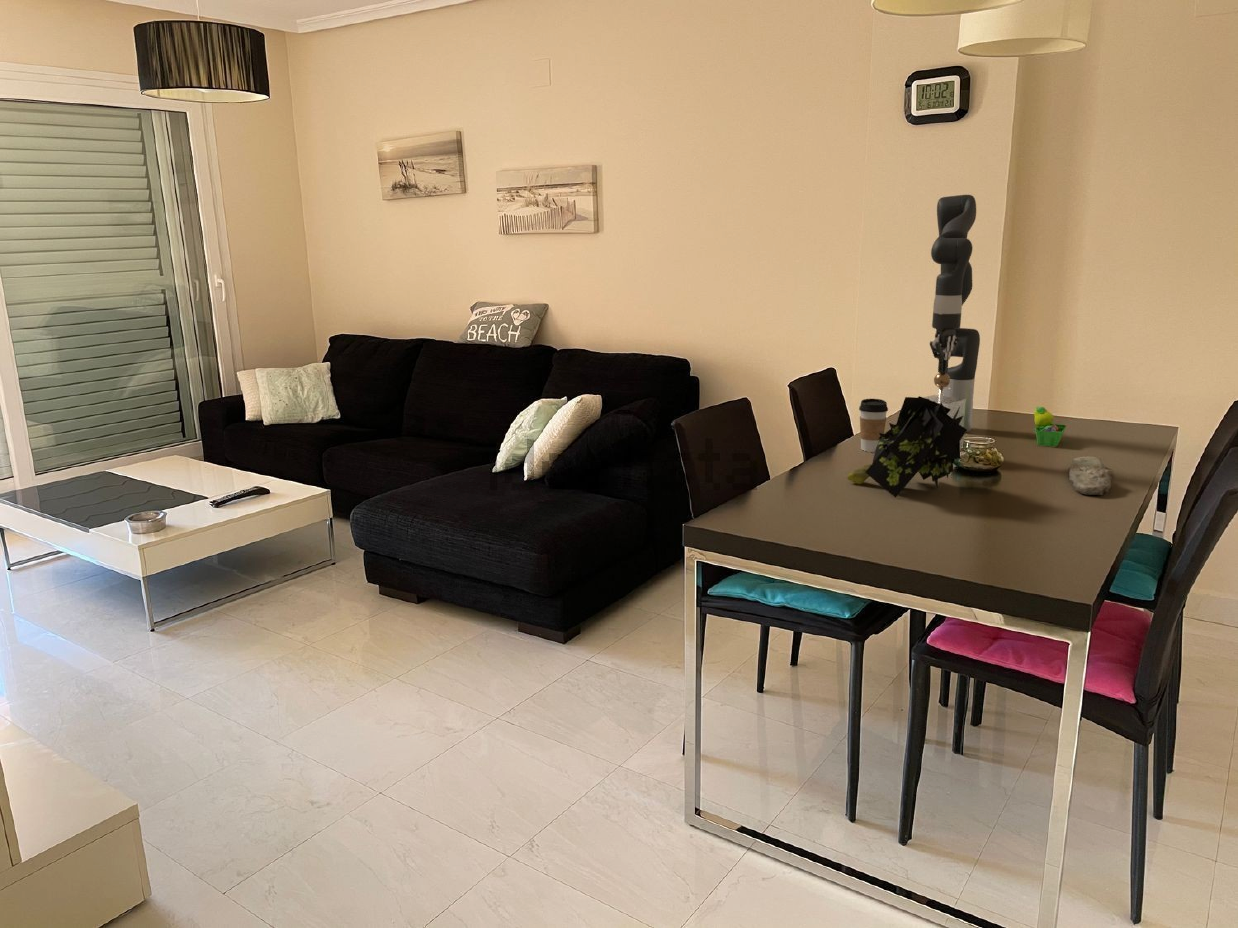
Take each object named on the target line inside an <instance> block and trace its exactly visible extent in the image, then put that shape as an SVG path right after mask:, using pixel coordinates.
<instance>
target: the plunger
mask: <svg viewBox="0 0 1238 928" xmlns="http://www.w3.org/2000/svg"><path fill="white" fill-rule="evenodd" d="M933 383H934V386H936V387H937V388H938V396H939V398H938V400H943V392H944V388H945V387H947V386H948V385H949V383H950V377H949V375H948V374H946V373H939V372H938V373H936V375H935V376H934V378H933Z"/></svg>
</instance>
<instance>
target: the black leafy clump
mask: <svg viewBox="0 0 1238 928" xmlns="http://www.w3.org/2000/svg"><path fill="white" fill-rule="evenodd" d="M959 409H960V407H959ZM959 409H958V410H957V412H956V414H955V415H954V417H953V419H952V418H951V417H950V416H949V415H947V413H948V412H949V411H950V410H951V409H949V408H947V407H945V406H943V405H942V402H941V404H938V403H936V402H935V401H931V400H929V399H926V398H923V397H922V396H918V397H912V396H909V397H908V396H905V397H904V400H903V402H902V405H901V408H900V411H899V413H898V417H897V421H896V423H895V424H894V423H890V422H889V426H890V429H889V430H887V431H886V432H884V434H882V433H879V434H880V437H879V439H878V440H879V442H878V445H877V447H876V450H875V452H874V454H873V455H874V456H873V459H872V463H871V464H865V465H862V466H860V467H859V468H857V469H856V470H853V471H851V472H850V473H848V474H847V475H846V476H847V477H846V478H847V480H849V481H850V482H852V483H855V484H857V485H863V483H864V482H865V481H866V480H867V479H868V478H871V479H872V480H873V481H875V482H876V483H877V484H878V485H879V486H880V487H882V488H883V490H886V491H887V492H888V493H889V494H890V495H892V497H894V498H897V497H898V496H899V494H901V492H902V491H903V490H904V488H905V487H907V485H908V484H909V483H910V481H911V480H912V479H913V478H914V477H915V476H916V475H917V473H918V474H919V475H920V477H921V478H922V480H923V481H924V480H926V479H928V478H930V477H931V480H932V482H934V484H935V486H936V488H937V489H939V487H938V486H939V485H938V483H939V481H938V480H939V479H942V478H944V477H947V479H949V475H950V474H951V473H953V472H954V462H955V460H959V459H962V456H961V457H960V440H961V438H962V437H963V436H965V434H966V433H967V432H966V431H967V429H965V428H964V427H962V426H961V425H959V424H960V422H961V420H962V418H963V416H961V417H959V418H956V416H957V414H958V412H959Z"/></svg>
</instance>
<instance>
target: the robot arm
mask: <svg viewBox="0 0 1238 928" xmlns="http://www.w3.org/2000/svg"><path fill="white" fill-rule="evenodd" d="M936 218H937V228H938V237H937V238H935V241H933V244H932V247H931V249H930V256H931V259H932V260H933V262H934V263H936V264H939V265H940V273H939V274H938V275H937V276H936V280H935V292H934V293H935V294H934V300H933V301H934V302H933V307H932V308H933V311H932V321H931V322H932V325H931V327H932V328H933V329H934V330H935V333H934V340H930V342H929V346H930V349H931V351H932V354H933V355H932V356H933V357H934V359H937V360H938V364H937V372H938V373H946V374H948V375H949V377H950V383H949V385H948V386H947V387H945V388H944V391H943V396H946V397H953V398H961V399H966V402H965V414H964V426H963V427H964V428H965V429H967V431H966V432H965V433H969V432H971V430H972V420H973V409H974V392H975V391H974V389H975V380H976V379H975V378H976V372H977V367H978V359H979V357H978V356H979V352H980V344H981V343H980V342H981V338H980V337H981V336H980V332H979V331H978V330H977V329H975V328H967V327H966V328H965V327H961V322H962V310H963V308H962V307H963V305H964V304H965V302H966V301H967V299H968V298H969V296H970V295H971V293H972V290H973V267H972V264H971V263H970V260H971V256H972V253H973V243H972V241H971V240H970V239H969V238H968V235H969V231H970V230H971V229H972V227H973V225H974V223H975V221H976V218H977V202H976V198H975V197H974V196H973V194H960V195H951V196H943V197H940V198H939V199H938V200H937V205H936ZM952 357H954V358H955V357H957V358H962V361H961V363H959V364H958V365H954V366H950V367H949V361H950V359H951V358H952Z"/></svg>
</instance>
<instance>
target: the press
mask: <svg viewBox="0 0 1238 928" xmlns="http://www.w3.org/2000/svg"><path fill="white" fill-rule="evenodd" d="M923 398H926V399H929V400H931V401H935V402H936V403H938V404H941V402H942V405H943V406H945V407H947V408H949V409H951V410H950V411H949V412H948V413H947V415H949V416H950V417H951V418H952V419H953V417H954V415H955V414H956V412H957V410H958V409H959V407H960V409H959V412H958V414H957V416H956V418H959V417H961V416H963V418H962V420H961V422H960V424H959V425H961V426H962V427H963V426H964V414H965V402H966V399H961V398H953V397H946V396H943V400H938V398H939V394H937V395H936V394H933V395H932V394H931V395H928V396H924V397H923ZM961 448H962V449H963V437H962V438H961V440H960V449H961Z"/></svg>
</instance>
